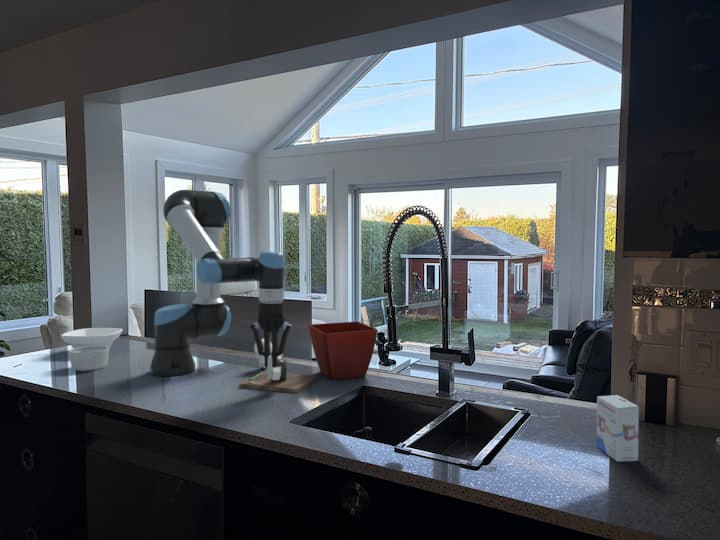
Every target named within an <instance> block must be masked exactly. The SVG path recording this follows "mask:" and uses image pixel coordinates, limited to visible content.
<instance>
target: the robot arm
mask: <svg viewBox="0 0 720 540" xmlns="http://www.w3.org/2000/svg"><path fill="white" fill-rule="evenodd" d="M162 209H163V210H162V211H163V216H164V219H165V221H166V222H167V225H169V227H171V228H172V229H175V231H176V232H177V234H178V235H179V237H180V239H181V240H182V241H183V243H184V244H185V245H186V247H187V249H188V250H189V252H190V254H191V255H192V256H193V257H194V259H195V278H196V279H195V280H196V281H195V283H196V284H195V285H196V286H195V287H196V289H195V291H196V292H195V295H196V297H195V298H194V299H193V300H192V301H191V307H190V305H188V304H186V303H182V304H181V303H180V304H171V305H167V306H164V307H163V306H162V307H160V308H158V309H157V310H156V311H155V313H154V320H153V321H154V322H153V324H154V354H153V357H152V360H151V364H150V367H149V374H150V375H151V376H156V377H177V376H183V375H188V374H191V373H194V372H195V371H196V362H195V359H194V357H193V354H192V352H191V348H190V346H191V345H190V343H191V341H192V340H199V339H206V338H215V337H221V336H223V335H225V334H226V333H227V332H228V331H229V329H230V326H231V320H232V314H231V312H230V311H231V310H230V307H229V306H228V305H226V304H225V300H224V298H222V297H221V284H224V283H225V284H226V283H241V282H242V283H243V282H244V283H247V282H258V296H259V297H258V301H259V303H258V317H257V321H256V322H254V323H251V324H250V326H249V327H250V329H251V331H252V332H253V336H254V341H255V343H256V345H257V349H258V353H259V355H263V356H264V357H265V367H267V372H268V379H272V372H273V370H274V367H276V366H277V359H278V357H279V356H280V355H282V354H283V355H284V351H285V348H286V344H287V339H288V337H289V336H288V335H289V331H291V329H292V328H293V326H292V325H293V324H291V323H289V322H286V318H285V317H284V313H285V312H284V305H285V304H284V303H283V301H284V299H285V293H284V290H285V289H284V286H285V284H284V283H285V281H284V280H285V263H284V262H285V260H284V259H285V258H284V253H282V252H278V251H277V252H275V251H274V252H273V251H272V252H270V251H264V252H260V253H259V256H258V257H249V256H247V257H235V258H234V257H233V258H231V257H230V258H229V257H228V258H227V257H224V255H223V254H222V252H221V233H222V231H223V230H224V229H225V225H226V224H228V223H229V222H230V218H231V216H232V215H231V214H232V213H231V211H232V210H231V204H230V201H229V199H228V198H227V196H226V195H225V194H223V193H222V192H217V191H213V190H210V191H207V190H193V189H191V190H190V189H179V190H177V191H174V192H173V193H171V194H170V195H169V196H168V197H166V199H165V202H164V204H163V208H162ZM260 328H261V329H262V331H263V338H262V336H261V332H260ZM280 329H283V332H282V335H281V338H280V343H279V331H280ZM271 336H272V337H271ZM262 339H264V348H263V343H262ZM271 341H272V342H271ZM270 342H271V344H272V352H271V353H270ZM283 355H282V356H283Z"/></svg>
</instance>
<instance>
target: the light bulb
mask: <svg viewBox="0 0 720 540" xmlns="http://www.w3.org/2000/svg"><path fill="white" fill-rule="evenodd" d="M261 339H262V343H263V348H264V338H261ZM253 351H254V354H255V355H256V357H257V360H258V363H259V365H258V367H259V368H260V369H261V370H262V369H263V370H264V369H266V368H267V369H268V367H265V357H264V356H263V355H259V353H258V349H257V345H256V342H255V343H254V346H253ZM270 353H271V354H272V342H271V341H270Z"/></svg>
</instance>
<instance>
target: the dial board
mask: <svg viewBox="0 0 720 540" xmlns="http://www.w3.org/2000/svg"><path fill="white" fill-rule="evenodd" d="M317 377H318V376H317V375H309V374H308V375H307V374H294V373H287V379H286V380H283V381H273V380H271V379H268V371H261V372H260V373H258V374H256V375H254V376H252V377H250V378H248V379H246V380H244V381H242V382H240V383H239V384H238V388H243V389H250V390H251V389H252V390H253V389H254V390H262V391H263V390H265V391H272V392H284V393H295V394H298V393H299V392H301V391H302V390H303V389H305V388H307V387H308V386H310V385H311V384H312V383H314V382H315V381H317V379H318V378H317Z"/></svg>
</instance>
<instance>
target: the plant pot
mask: <svg viewBox="0 0 720 540" xmlns="http://www.w3.org/2000/svg"><path fill="white" fill-rule="evenodd" d="M308 328H309V335H310V340H311V346H312V349H313V352H314V355H315V360H316V363H317V366H318V368H319V371H320V372H321V374H323V375H324V376H325V377H326V378H328V379H329V380H331V381H335V380H337V381H338V380H345V379H352V378H353V379H354V378H362V377H366V376H367V373H368V370H369V367H370V364H371V361H372V358H373V353H374V349H375V345H376V342H377V341H376V340H377V334H378V329H377V328H374V327H372V326H369V325H367V324H365V323H362V322H361V321H345V322H343V321H342V322H341V321H340V322H328V323H314V324H309V325H308Z"/></svg>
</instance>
